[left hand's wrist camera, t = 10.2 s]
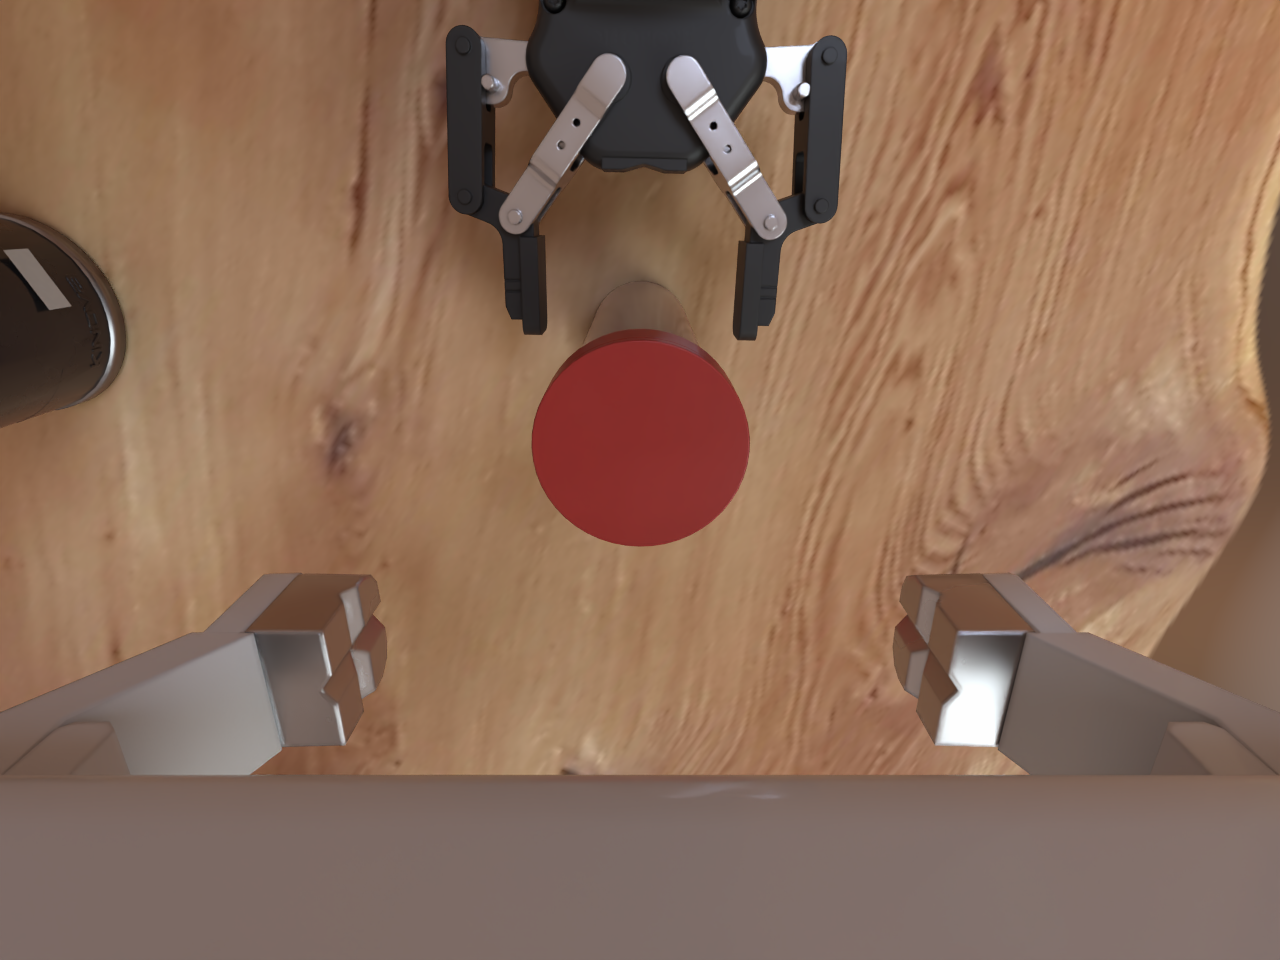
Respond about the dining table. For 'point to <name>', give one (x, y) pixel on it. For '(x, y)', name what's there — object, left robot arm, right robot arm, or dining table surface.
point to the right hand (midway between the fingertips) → (640, 334)
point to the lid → (640, 438)
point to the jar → (640, 312)
